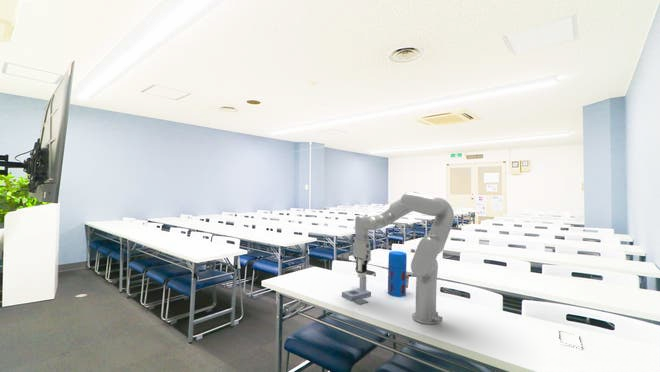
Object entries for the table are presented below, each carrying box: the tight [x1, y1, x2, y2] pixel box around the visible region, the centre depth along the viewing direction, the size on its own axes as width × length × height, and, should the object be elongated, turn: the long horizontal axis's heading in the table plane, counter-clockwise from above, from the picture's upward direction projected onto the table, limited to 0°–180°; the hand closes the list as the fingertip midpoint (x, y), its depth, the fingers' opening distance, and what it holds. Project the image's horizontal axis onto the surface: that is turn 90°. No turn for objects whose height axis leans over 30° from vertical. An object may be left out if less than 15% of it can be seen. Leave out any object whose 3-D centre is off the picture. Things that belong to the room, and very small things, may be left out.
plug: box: [356, 258, 367, 279], centre depth 164 cm, size 5×5×10 cm
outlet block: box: [341, 275, 372, 302], centre depth 172 cm, size 9×15×11 cm, turn 126°
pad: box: [352, 298, 369, 306], centre depth 163 cm, size 6×6×1 cm
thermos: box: [387, 250, 408, 298], centre depth 179 cm, size 11×11×25 cm
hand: (361, 269), depth 164 cm, fingers closed on plug, 4 cm apart
